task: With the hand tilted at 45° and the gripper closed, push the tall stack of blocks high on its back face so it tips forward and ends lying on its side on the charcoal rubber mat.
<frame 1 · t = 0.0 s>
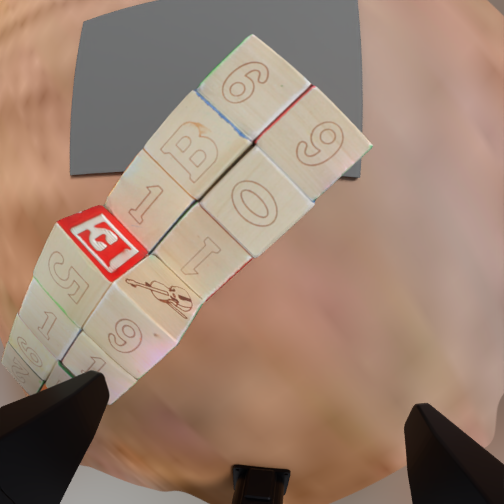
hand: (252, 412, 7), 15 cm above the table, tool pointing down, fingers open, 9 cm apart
stack of blocks: (195, 226, 22), on the table, touching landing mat
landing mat: (199, 72, 18), on the table
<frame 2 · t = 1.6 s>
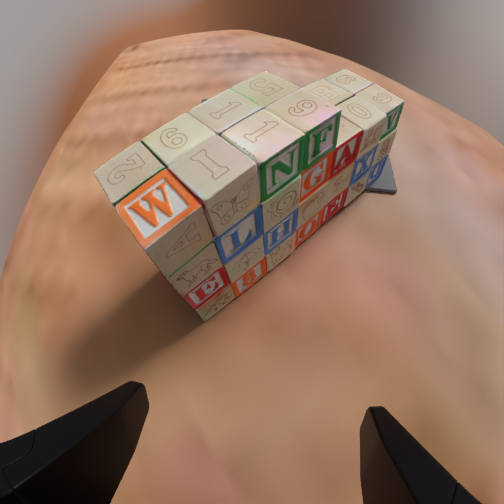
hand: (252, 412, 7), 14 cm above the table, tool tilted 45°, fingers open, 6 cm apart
stack of blocks: (282, 217, 27), on the table, touching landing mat
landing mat: (287, 136, 32), on the table
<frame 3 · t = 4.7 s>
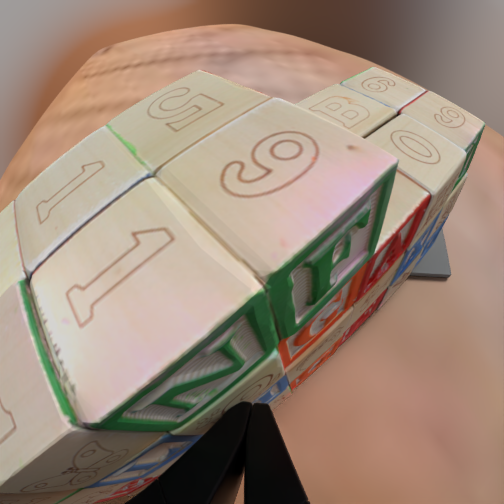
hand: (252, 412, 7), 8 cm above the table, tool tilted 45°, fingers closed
stack of blocks: (275, 331, 16), on the table, touching gripper, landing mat
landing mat: (287, 178, 21), on the table
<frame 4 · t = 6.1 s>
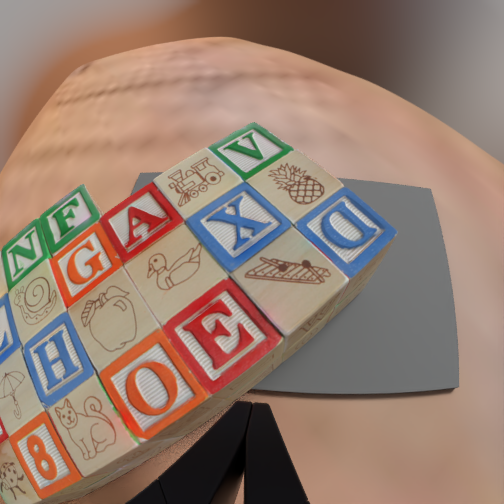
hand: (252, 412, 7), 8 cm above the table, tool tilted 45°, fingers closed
stack of blocks: (201, 425, 11), point 3 cm above the table, touching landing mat
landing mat: (278, 268, 18), on the table
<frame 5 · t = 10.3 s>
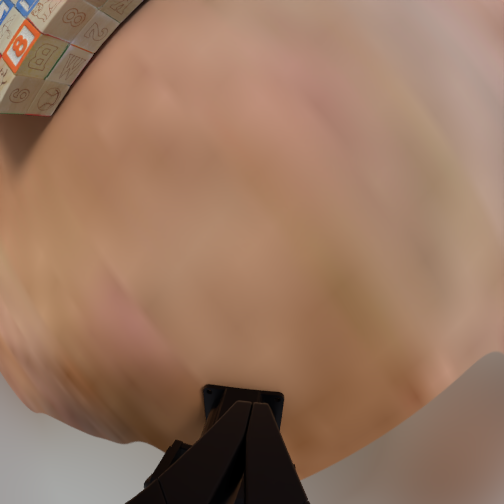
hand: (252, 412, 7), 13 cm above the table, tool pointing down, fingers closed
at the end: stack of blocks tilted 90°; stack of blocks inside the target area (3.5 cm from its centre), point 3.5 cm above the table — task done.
